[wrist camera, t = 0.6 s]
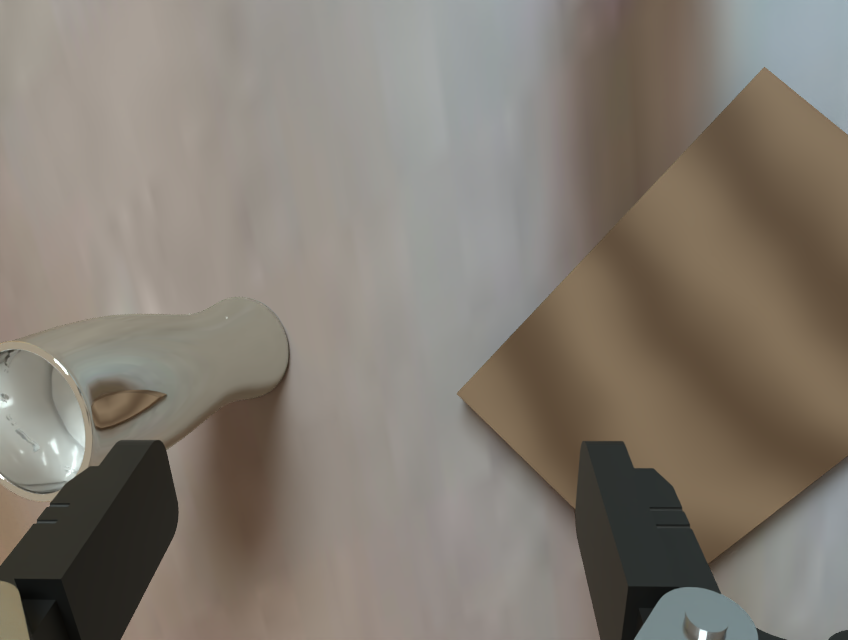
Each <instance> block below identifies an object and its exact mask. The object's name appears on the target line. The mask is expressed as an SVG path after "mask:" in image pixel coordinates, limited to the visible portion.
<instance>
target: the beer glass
mask: <svg viewBox="0 0 848 640" xmlns="http://www.w3.org/2000/svg"><path fill="white" fill-rule="evenodd" d="M288 359H289V348H288V341H287V337H286V334H285V331H284V329H283V327H282V325H281V323H280V321H279V320H278V318H277V317H276V316H275V314H274V313H273V312H272V311H271V310H270V309H269V308H267V307H266V306H265V305H263V304H262V303H260V302H258V301H256V300H253V299H250V298H246V297H231V298H227V299H224V300H222V301H220V302H218V303H216V304H214V305H213V306H211V307H209V308H207V309H206V310H203V311H201V312H198V313H194V314H190V313H189V314H123V315H110V316H104V317H98V318H92V319H86V320H82V321H77V322H73V323H69V324H65V325H61V326H58V327H54V328H51V329H48V330H44V331H41V332H38V333H35V334H32V335H28V336H25V337H22V338H19V339H16V340H12V341H6V342H2V343H0V484H2V485H3V486H4V487H5V488H7V489H8V490H9V491H11V492H12V493H14V494H16V495H18V496H20V497H22V498H25V499H28V500H32V501H37V502H50V501H52V500H53V499H54V498H55V496H56V495H57V494H58V493H59V491H60V490H61V489H62V487H63V486H64V485H65V484H66V483H67V482H68V481H70V480H71V479H73V478H74V477H75V476H77V475H78V474H80V473H81V472H82V471H84V470H85V469H87V468H88V467H89V466H99V465H100V463H101V462H102V461H103V459H104V458H105V457H106V455H107V454H108V453H109V451H110V450H111V449H112V447H113V446H114V445H115V444H116V443H117V442H118V441H120V440H160V441H162V442H163V444H164V446H165V448H166V450H168V449H169V448H170V447H172V446H173V445H175V444H176V443H178V442H179V441H180V440H182V439H183V438H185V437H186V436H187V435H188V434H189V433H191V432H192V431H193V430H194V429H196V428H197V427H198V426H199V425H201V424H202V423H203V422H204V421H205V420H207V419H208V418H209V417H210V416H211V415H213V414H214V413H215V412H216V411H218V410H219V409H220V408H222V407H223V406H225V405H227V404H229V403H232V402H235V401H239V400H246V399H252V398H257V397H260V396H263V395H265V394H267V393H269V392H270V391H271V390H273V389H274V388H275V387H276V386H277V385H278V384H279V382H280V381H281V379H282V378H283V376H284V374H285V371H286V369H287V365H288Z"/></svg>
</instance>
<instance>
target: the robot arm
mask: <svg viewBox="0 0 848 640" xmlns="http://www.w3.org/2000/svg"><path fill="white" fill-rule="evenodd" d="M575 519H576V532H577V539H578V543H579V548H580V552H581V556H582V561H583V565H584V570H585V574H586V578H587V583H588V587H589V591H590V596H591V600H592V604H593V609H594V613H595V617H596V622H597V626H598V631H599V635H600V639H601V640H786V639H782V638H779V637H776V636H773V635H770V634H768V633H766V632H763V631H761V630H759V629H758V628H756V627H755V625H754V623H753V621H752V620H751V618H750V616H749V615H748V614H747V613H746V612H745V611H744V610H743V609H742V608H741V607H740V606H739V605H738V604H736V603H735V602H734V601H732V600H731V599H729V598H727V597H725V596H724V595H722V594H721V592H720V590H719V588H718V586H717V583H716V581H715V579H714V577H713V574H712V572H711V570H710V568H709V566H708V563H707V561H706V559H705V557H704V554H703V552H702V550H701V548H700V545H699V543H698V541H697V539H696V537H695V534H694V532H693V530H692V529H690V523H689V521H688V519H687V516H686V514H685V512H684V511H683V510H682V505H681V503H680V501H679V499H678V496H677V494H676V492H675V490H674V487H673V486H672V485H671V484H670V483H669V482H668V481H667V480H666V479H665V478H663V477H662V476H661V475H660V474H659V473H658V472H657V471H656V470H655V469H654V468H634V467H633V464H632V461H631V459H630V456H629V453H628V451H627V448H626V446H625V444H624V442H623V441H583V442H582V444H581V448H580V458H579V470H578V482H577V494H576V507H575ZM177 523H178V501H177V497H176V492H175V488H174V483H173V479H172V474H171V470H170V465H169V461H168V456H167V452H166V448H165V446H164V444H163V442H162V441H160V440H120V441H118V442H117V443H116V444H115V445H114V446H113V447H112V449H111V450H110V451H109V453H108V454H107V455H106V457H105V458H104V459H103V461H102V462H101V463H100V465H99V466H89V467H88V468H87V469H85V470H84V471H82V472H81V473H80V474H78V475H77V476H75V477H74V478H73V479H71V480H70V481H68V482H67V483H66V484H65V485H64V486H63V487H62V489H61V490H60V491H59V493H58V494H57V495H56V496H55V498H54V499H53V500H52V501H51V503H50V507H47V508H46V509H45V510H44V511H43V513H42V514H41V515H40V517H39V518H38V519H37V524H33V525H32V527H31V528H30V529H29V530H28V532H27V533H26V534H25V535H24V537H23V538H22V539H21V541H20V542H19V543H18V544H17V546H16V547H15V548H14V549H13V551H12V552H11V553H10V554H9V556H8V557H7V558H6V559H5V561H4V562H3V563H2V565H1V566H0V640H121V638H122V636H123V634H124V632H125V630H126V628H127V626H128V624H129V622H130V620H131V618H132V616H133V614H134V612H135V610H136V609H137V607H138V605H139V603H140V601H141V599H142V597H143V595H144V593H145V591H146V589H147V587H148V585H149V583H150V581H151V579H152V577H153V576H154V574H155V572H156V570H157V568H158V566H159V564H160V562H161V560H162V558H163V556H164V554H165V552H166V550H167V548H168V546H169V544H170V543H171V541H172V539H173V537H174V534H175V531H176V528H177ZM829 640H848V630H845V631H841V632H838V633H836V634H834V635H833V636H831V637H830V638H829Z"/></svg>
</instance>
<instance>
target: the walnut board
mask: <svg viewBox="0 0 848 640" xmlns="http://www.w3.org/2000/svg"><path fill="white" fill-rule="evenodd" d="M457 395H458V396H459V397H461V398H462V399H463V400H464V401H465V402H466V403H467V404H468V405H469V406H470V407H471V408H472V409H473V410H474V411H475V412H476V413H477V414H478V415H479V416H480V417H481V418H482V419H483V420H484V421H485V422H486V423H487V424H488V425H489V426H490V427H491V428H492V429H493V430H494V431H495V432H496V433H497V434H498V435H499V436H501V437H502V438H503V439H504V440H505V441H506V442H507V443H508V444H509V445H510V446H511V447H512V448H513V449H514V450H515V451H516V452H517V453H518V454H519V455H520V456H521V457H522V458H523V459H524V460H525V461H526V462H527V463H528V464H529V465H530V466H531V467H532V468H533V469H534V470H535V471H536V472H537V473H538V474H539V475H541V476H542V477H543V478H544V479H545V480H546V481H547V482H548V483H549V484H550V485H551V486H552V487H553V488H554V489H555V490H556V491H557V492H558V493H559V494H560V495H561V496H562V497H563V498H564V499H565V500H566V501H567V502H568V503H569V504H570V505H571V506H572V507H573V508H574V509H575V507H576V494H577V482H578V470H579V458H580V448H581V444H582V442H583V441H623V442H624V444H625V446H626V448H627V451H628V453H629V456H630V459H631V461H632V464H633V467H634V468H654V469H655V470H656V471H657V472H658V473H659V474H660V475H661V476H662V477H663V478H665V479H666V480H667V481H668V482H669V483H670V484H671V485H672V486H673V487H674V490H675V492H676V494H677V496H678V499H679V501H680V503H681V505H682V510H683V511H684V512H685V514H686V516H687V519H688V521H689V523H690V529H692V530H693V532H694V534H695V537H696V539H697V541H698V543H699V545H700V548H701V550H702V552H703V554H704V557H705V559H706V561H707V563H708V564H709V563H710V562H711V561H712V560H714V559H715V558H716V557H718V556H719V555H720V554H721V553H723V552H724V551H725V550H727V549H728V548H729V547H730V546H732V545H733V544H734V543H736V542H737V541H738V540H740V539H741V538H742V537H743V536H745V535H746V534H747V533H749V532H750V531H751V530H752V529H754V528H755V527H756V526H758V525H759V524H760V523H761V522H763V521H764V520H765V519H767V518H768V517H769V516H771V515H772V514H773V513H774V512H776V511H777V510H778V509H780V508H781V507H782V506H783V505H785V504H786V503H787V502H789V501H790V500H791V499H793V498H794V497H795V496H796V495H798V494H799V493H800V492H802V491H803V490H804V489H805V488H807V487H808V486H809V485H811V484H812V483H813V482H814V481H816V480H817V479H818V478H820V477H821V476H822V475H824V474H825V473H826V472H827V471H829V470H830V469H831V468H833V467H834V466H835V465H836V464H838V463H839V462H840V461H842V460H843V459H844V458H845V457H847V456H848V135H847V134H846V133H845V132H844V131H842V130H841V129H840V128H839V127H837V126H836V125H835V124H834V123H832V122H831V121H830V120H829V119H828V118H826V117H825V116H824V115H823V114H821V113H820V112H819V111H818V110H817V109H815V108H814V107H813V106H812V105H810V104H809V103H808V102H807V101H806V100H804V99H803V98H802V97H801V96H799V95H798V94H797V93H796V92H795V91H793V90H792V89H791V88H790V87H788V86H787V85H786V84H785V83H784V82H782V81H781V80H780V79H779V78H777V77H776V76H775V75H774V74H773V73H771V72H770V71H769V70H768V69H766V68H765V67H764V68H763V69H762V70H761V71H760V72H759V73H758V74H757V75H756V76H755V77H754V78H753V80H752V81H751V82H750V83H749V84H748V85H747V86H746V87H745V88H744V89H743V90H742V91H741V92H740V93H739V94H738V95H737V97H736V98H735V99H734V100H733V101H732V102H731V103H730V104H729V105H728V106H727V107H726V108H725V109H724V110H723V111H722V112H721V113H720V115H719V116H718V117H717V118H716V119H715V120H714V121H713V122H712V123H711V124H710V125H709V126H708V127H707V128H706V129H705V130H704V132H703V133H702V134H701V135H700V136H699V137H698V138H697V139H696V140H695V141H694V142H693V143H692V144H691V145H690V146H689V147H688V149H687V150H686V151H685V152H684V153H683V154H682V155H681V156H680V157H679V158H678V159H677V160H676V161H675V162H674V163H673V164H672V165H671V167H670V168H669V169H668V170H667V171H666V172H665V173H664V174H663V175H662V176H661V177H660V178H659V179H658V180H657V181H656V182H655V184H654V185H653V186H652V187H651V188H650V189H649V190H648V191H647V192H646V193H645V194H644V195H643V196H642V197H641V198H640V199H639V201H638V202H637V203H636V204H635V205H634V206H633V207H632V208H631V209H630V210H629V211H628V212H627V213H626V214H625V215H624V216H623V217H622V219H621V220H620V221H619V222H618V223H617V224H616V225H615V226H614V227H613V228H612V229H611V230H610V231H609V232H608V233H607V234H606V236H605V237H604V238H603V239H602V240H601V241H600V242H599V243H598V244H597V245H596V246H595V247H594V248H593V249H592V250H591V251H590V252H589V254H588V255H587V256H586V257H585V258H584V259H583V260H582V261H581V262H580V263H579V264H578V265H577V266H576V267H575V268H574V269H573V271H572V272H571V273H570V274H569V275H568V276H567V277H566V278H565V279H564V280H563V281H562V282H561V283H560V284H559V285H558V286H557V288H556V289H555V290H554V291H553V292H552V293H551V294H550V295H549V296H548V297H547V298H546V299H545V300H544V301H543V302H542V303H541V304H540V306H539V307H538V308H537V309H536V310H535V311H534V312H533V313H532V314H531V315H530V316H529V317H528V318H527V319H526V320H525V321H524V323H523V324H522V325H521V326H520V327H519V328H518V329H517V330H516V331H515V332H514V333H513V334H512V335H511V336H510V337H509V338H508V339H507V341H506V342H505V343H504V344H503V345H502V346H501V347H500V348H499V349H498V350H497V351H496V352H495V353H494V354H493V355H492V356H491V358H490V359H489V360H488V361H487V362H486V363H485V364H484V365H483V366H482V367H481V368H480V369H479V370H478V371H477V372H476V373H475V375H474V376H473V377H472V378H471V379H470V380H469V381H468V382H467V383H466V384H465V385H464V386H463V387H462V388H461V389H460V390H459V391H458V393H457Z"/></svg>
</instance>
